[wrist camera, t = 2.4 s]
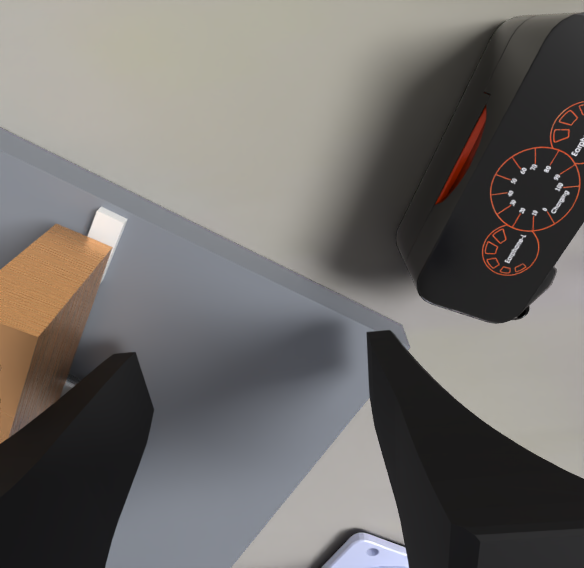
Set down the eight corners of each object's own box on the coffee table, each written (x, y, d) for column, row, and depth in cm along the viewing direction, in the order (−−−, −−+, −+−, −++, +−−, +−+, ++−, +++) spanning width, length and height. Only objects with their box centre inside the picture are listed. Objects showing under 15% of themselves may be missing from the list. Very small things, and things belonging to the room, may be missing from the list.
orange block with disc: (99, 532, 18) (46, 669, 14) (-101, 474, 16) (-220, 608, 13) (219, 284, 13) (187, 392, 9) (-54, 167, 11) (-228, 238, 8)
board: (402, 325, 15) (412, 353, 14) (200, 582, 22) (193, 618, 21) (-237, 10, 11) (-308, 9, 10) (-245, 444, 18) (-288, 477, 17)
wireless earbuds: (373, 265, 14) (392, 324, 12) (497, 7, 11) (565, 1, 8) (508, 309, 15) (558, 375, 12) (661, 78, 12) (776, 94, 9)
